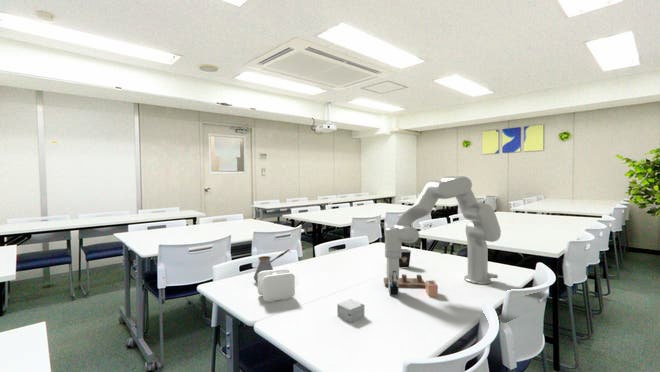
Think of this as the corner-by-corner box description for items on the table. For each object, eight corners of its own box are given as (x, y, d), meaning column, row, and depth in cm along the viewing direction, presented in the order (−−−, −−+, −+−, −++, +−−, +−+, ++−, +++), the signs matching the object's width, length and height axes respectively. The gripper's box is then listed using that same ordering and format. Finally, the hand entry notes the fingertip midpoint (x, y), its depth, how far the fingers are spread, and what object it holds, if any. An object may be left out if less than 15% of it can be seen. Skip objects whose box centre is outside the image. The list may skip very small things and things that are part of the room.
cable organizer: (261, 304, 134) (261, 277, 134) (257, 295, 144) (257, 270, 144) (295, 298, 140) (294, 273, 140) (288, 291, 150) (288, 267, 149)
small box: (336, 316, 122) (336, 303, 122) (351, 310, 127) (351, 298, 126) (350, 323, 116) (350, 309, 115) (365, 317, 121) (365, 304, 120)
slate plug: (396, 290, 148) (396, 279, 148) (398, 295, 142) (398, 283, 142) (388, 290, 149) (388, 278, 149) (389, 295, 142) (389, 283, 142)
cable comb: (422, 281, 162) (422, 272, 162) (426, 287, 152) (426, 278, 152) (383, 280, 164) (383, 272, 164) (385, 286, 154) (385, 277, 154)
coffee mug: (412, 266, 191) (412, 249, 191) (408, 269, 184) (408, 252, 184) (394, 263, 198) (394, 247, 197) (389, 266, 190) (389, 250, 190)
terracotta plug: (434, 292, 147) (434, 280, 147) (437, 297, 140) (437, 284, 140) (425, 291, 147) (425, 280, 147) (428, 297, 141) (428, 284, 141)
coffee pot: (259, 287, 155) (259, 257, 155) (250, 281, 164) (249, 253, 164) (295, 278, 169) (295, 251, 168) (285, 273, 178) (284, 247, 177)
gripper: (383, 249, 154) (383, 285, 154) (386, 258, 137) (386, 298, 137) (398, 249, 153) (399, 285, 154) (403, 258, 136) (404, 299, 136)
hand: (393, 291), depth 145 cm, fingers closed on slate plug, 6 cm apart
